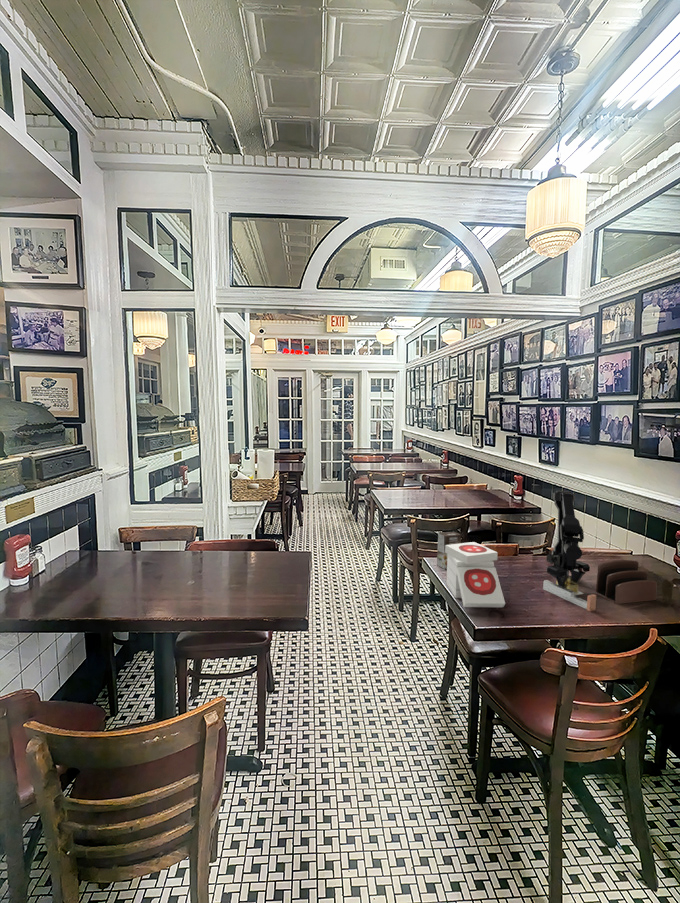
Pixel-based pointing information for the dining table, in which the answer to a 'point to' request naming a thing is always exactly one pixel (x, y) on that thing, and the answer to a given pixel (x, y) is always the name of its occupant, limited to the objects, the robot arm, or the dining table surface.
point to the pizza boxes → (473, 575)
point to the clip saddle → (570, 585)
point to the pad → (578, 593)
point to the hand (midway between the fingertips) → (567, 588)
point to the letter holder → (624, 582)
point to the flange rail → (570, 595)
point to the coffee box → (443, 540)
